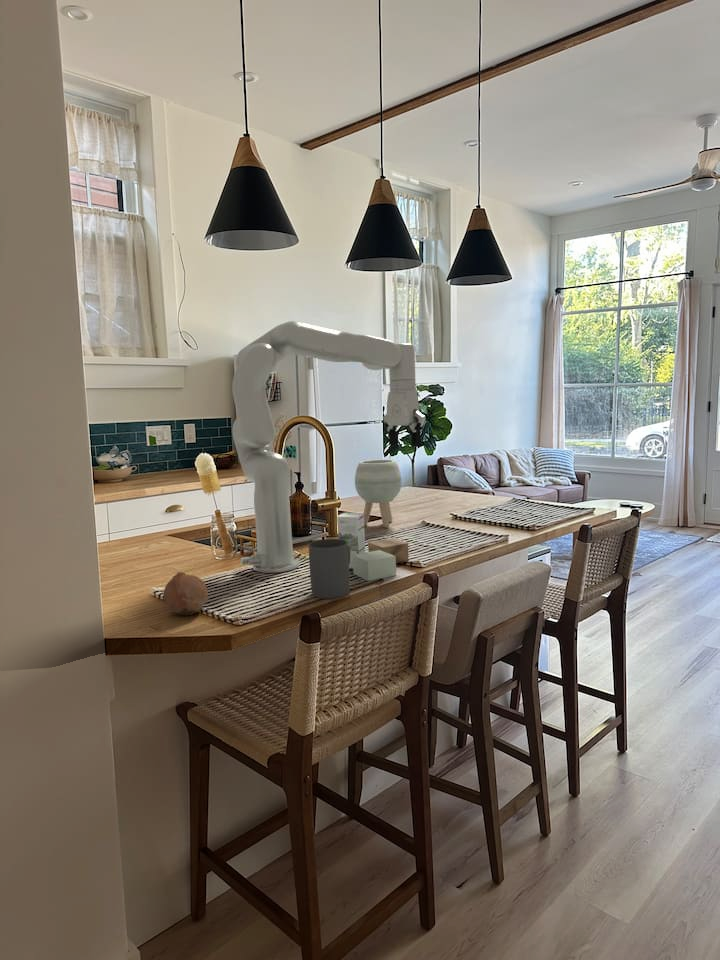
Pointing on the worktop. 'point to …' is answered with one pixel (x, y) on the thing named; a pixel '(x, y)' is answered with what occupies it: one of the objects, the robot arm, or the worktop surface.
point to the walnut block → (391, 548)
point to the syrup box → (352, 533)
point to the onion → (185, 594)
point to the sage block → (374, 565)
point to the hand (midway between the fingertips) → (404, 445)
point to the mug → (329, 568)
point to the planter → (378, 486)
